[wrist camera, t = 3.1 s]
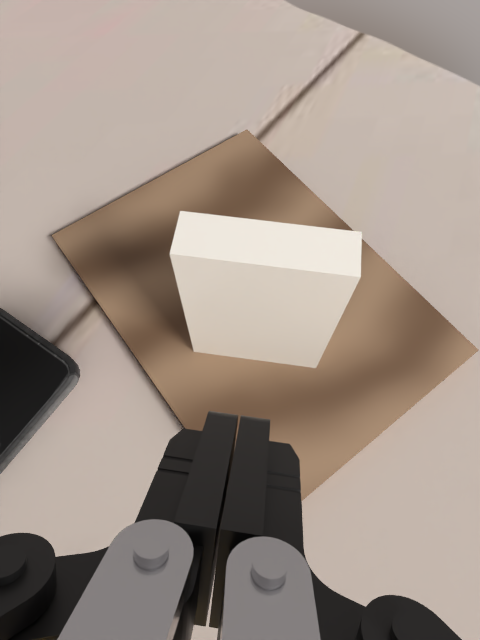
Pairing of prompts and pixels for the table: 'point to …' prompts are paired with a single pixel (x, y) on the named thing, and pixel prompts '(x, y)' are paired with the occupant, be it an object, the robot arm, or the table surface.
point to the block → (263, 285)
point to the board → (253, 375)
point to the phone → (28, 384)
